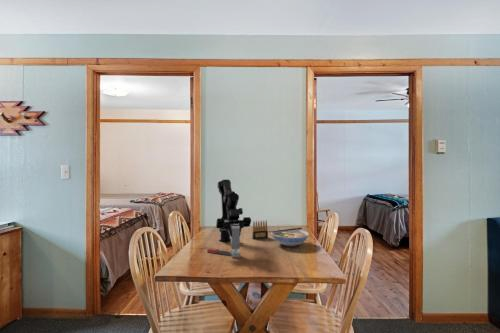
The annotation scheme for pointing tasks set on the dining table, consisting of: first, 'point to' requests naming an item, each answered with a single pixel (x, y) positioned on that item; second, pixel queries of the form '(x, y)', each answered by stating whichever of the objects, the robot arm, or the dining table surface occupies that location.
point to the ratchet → (225, 252)
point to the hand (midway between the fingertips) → (235, 236)
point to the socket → (235, 236)
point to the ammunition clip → (260, 230)
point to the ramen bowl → (290, 236)
